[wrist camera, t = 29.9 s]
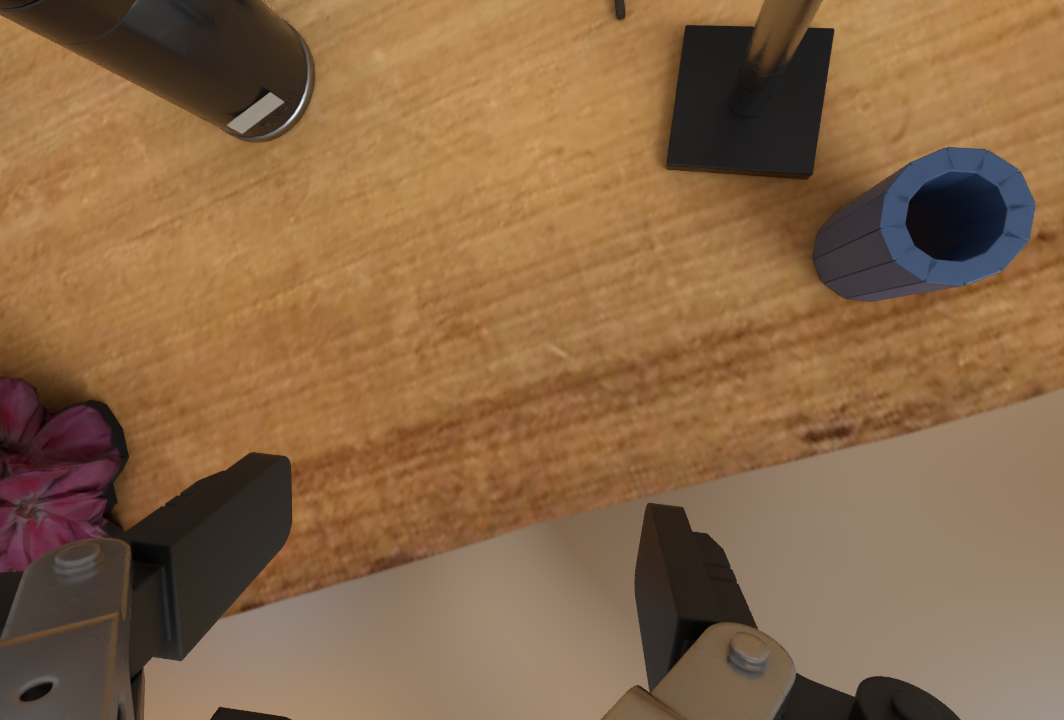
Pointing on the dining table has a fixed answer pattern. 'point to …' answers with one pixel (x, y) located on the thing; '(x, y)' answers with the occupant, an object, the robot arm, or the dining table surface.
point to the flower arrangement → (54, 473)
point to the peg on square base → (752, 94)
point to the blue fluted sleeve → (927, 227)
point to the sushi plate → (620, 9)
